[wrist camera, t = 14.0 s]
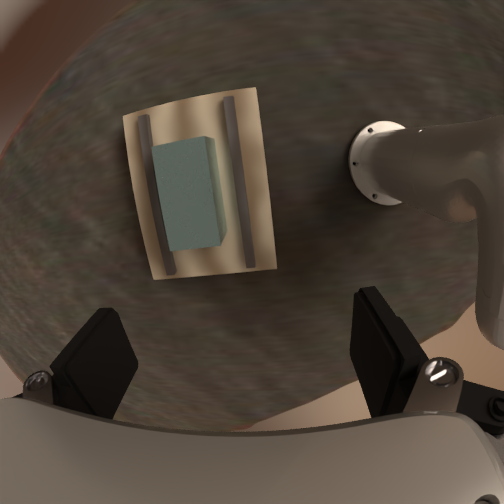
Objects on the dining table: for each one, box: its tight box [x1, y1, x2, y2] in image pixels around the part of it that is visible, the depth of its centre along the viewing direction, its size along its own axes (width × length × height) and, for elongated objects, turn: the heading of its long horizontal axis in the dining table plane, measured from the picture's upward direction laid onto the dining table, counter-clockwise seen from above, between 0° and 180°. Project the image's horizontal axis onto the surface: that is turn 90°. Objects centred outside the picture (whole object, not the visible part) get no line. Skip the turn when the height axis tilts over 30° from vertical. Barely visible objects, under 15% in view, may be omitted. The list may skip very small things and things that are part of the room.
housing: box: [151, 136, 228, 251], centre depth 31 cm, size 12×6×6 cm, turn 7°
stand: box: [123, 87, 277, 280], centre depth 36 cm, size 18×24×5 cm
